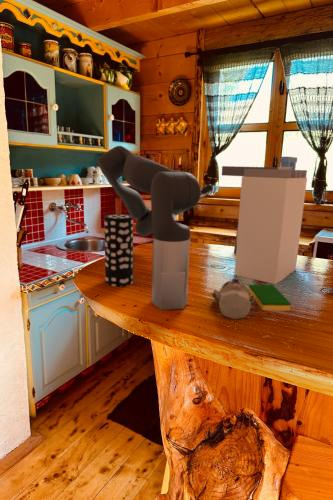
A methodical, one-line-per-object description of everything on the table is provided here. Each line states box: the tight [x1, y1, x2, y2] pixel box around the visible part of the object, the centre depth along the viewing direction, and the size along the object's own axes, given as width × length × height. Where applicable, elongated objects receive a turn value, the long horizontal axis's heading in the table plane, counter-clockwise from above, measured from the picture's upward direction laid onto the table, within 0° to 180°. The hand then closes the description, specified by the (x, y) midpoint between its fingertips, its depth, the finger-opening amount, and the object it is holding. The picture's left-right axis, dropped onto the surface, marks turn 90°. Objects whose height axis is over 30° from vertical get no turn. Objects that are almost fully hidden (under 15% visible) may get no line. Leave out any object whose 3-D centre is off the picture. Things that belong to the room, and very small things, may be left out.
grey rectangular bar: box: [221, 165, 292, 178], centre depth 107 cm, size 22×3×3 cm, turn 53°
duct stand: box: [233, 156, 308, 285], centre depth 112 cm, size 14×20×38 cm
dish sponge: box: [247, 284, 292, 312], centre depth 92 cm, size 7×14×2 cm, turn 2°
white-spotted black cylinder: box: [103, 214, 134, 287], centre depth 100 cm, size 8×8×20 cm
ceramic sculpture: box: [211, 278, 254, 320], centre depth 84 cm, size 11×9×15 cm
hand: (205, 187), depth 119 cm, fingers open, 8 cm apart
